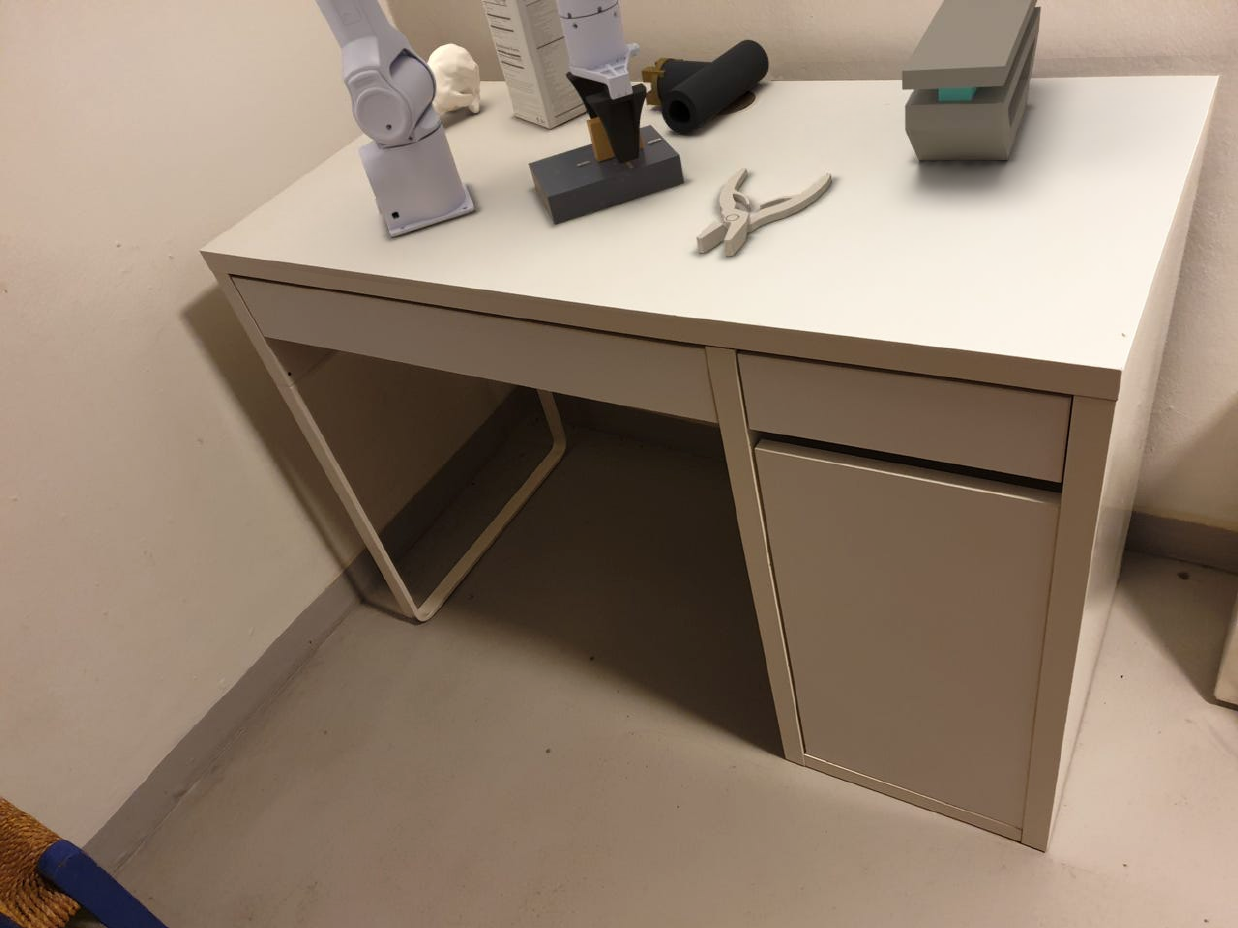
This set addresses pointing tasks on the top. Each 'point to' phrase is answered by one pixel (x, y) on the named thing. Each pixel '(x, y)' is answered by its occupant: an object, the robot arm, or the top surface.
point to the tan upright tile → (601, 140)
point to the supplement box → (534, 60)
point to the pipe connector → (703, 84)
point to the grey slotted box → (971, 79)
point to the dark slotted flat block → (604, 177)
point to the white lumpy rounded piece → (455, 79)
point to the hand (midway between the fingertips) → (618, 147)
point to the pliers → (742, 223)
